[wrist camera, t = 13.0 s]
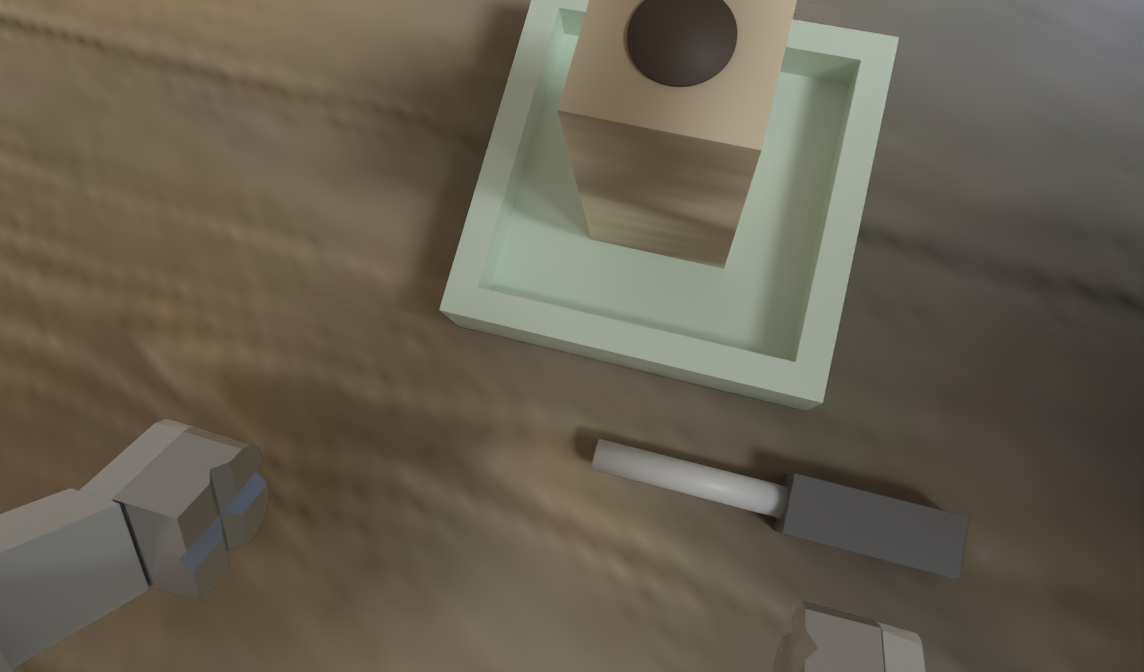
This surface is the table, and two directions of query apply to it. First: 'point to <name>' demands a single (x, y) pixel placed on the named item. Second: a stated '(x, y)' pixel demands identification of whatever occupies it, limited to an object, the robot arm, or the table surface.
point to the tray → (665, 284)
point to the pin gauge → (809, 508)
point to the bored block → (671, 118)
